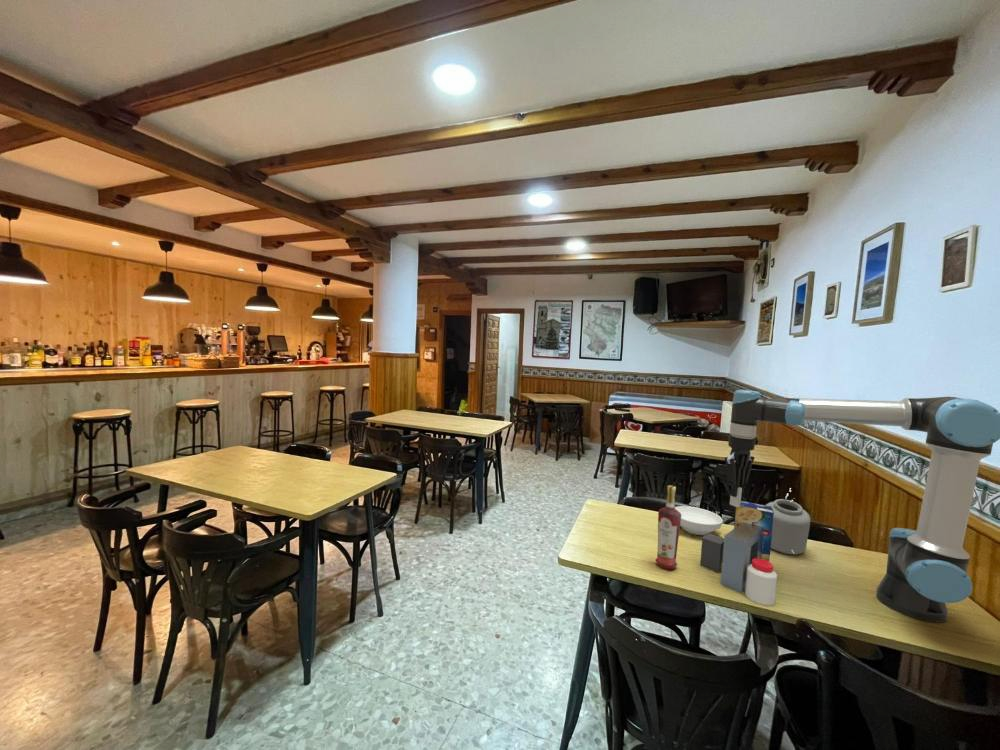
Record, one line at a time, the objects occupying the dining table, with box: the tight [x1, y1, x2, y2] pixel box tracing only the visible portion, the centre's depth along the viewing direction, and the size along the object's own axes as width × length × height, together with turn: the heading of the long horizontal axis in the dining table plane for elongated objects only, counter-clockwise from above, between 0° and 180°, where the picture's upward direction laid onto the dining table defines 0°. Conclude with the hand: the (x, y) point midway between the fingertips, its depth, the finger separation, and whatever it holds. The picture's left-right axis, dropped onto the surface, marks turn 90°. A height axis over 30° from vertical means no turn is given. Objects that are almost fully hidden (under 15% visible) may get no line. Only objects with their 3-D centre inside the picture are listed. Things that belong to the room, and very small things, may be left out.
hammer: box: [699, 532, 724, 574], centre depth 135 cm, size 20×6×10 cm, turn 42°
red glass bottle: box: [655, 484, 681, 570], centre depth 139 cm, size 7×7×28 cm
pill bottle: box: [744, 558, 778, 607], centre depth 123 cm, size 8×8×11 cm
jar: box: [765, 487, 811, 562], centre depth 156 cm, size 19×15×25 cm
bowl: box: [675, 505, 723, 536], centre depth 170 cm, size 20×20×7 cm
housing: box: [720, 523, 764, 594], centre depth 134 cm, size 6×20×16 cm, turn 132°
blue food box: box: [733, 500, 774, 563], centre depth 142 cm, size 7×11×22 cm, turn 60°
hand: (734, 505), depth 135 cm, fingers closed
